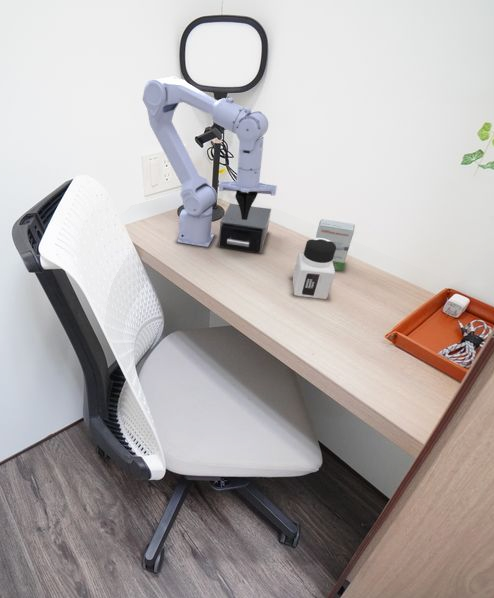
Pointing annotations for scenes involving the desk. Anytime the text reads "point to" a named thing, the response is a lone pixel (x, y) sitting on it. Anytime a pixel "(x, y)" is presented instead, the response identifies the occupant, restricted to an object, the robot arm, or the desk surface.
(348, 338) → the desk surface
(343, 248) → the ink box
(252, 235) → the drawer
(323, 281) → the container
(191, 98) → the robot arm
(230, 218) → the small drawer cabinet
